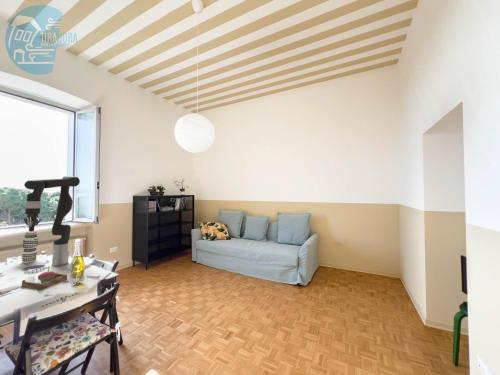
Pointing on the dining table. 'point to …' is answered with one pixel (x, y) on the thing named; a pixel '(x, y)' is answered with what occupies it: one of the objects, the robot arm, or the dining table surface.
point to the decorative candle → (30, 247)
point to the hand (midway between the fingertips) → (31, 231)
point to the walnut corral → (40, 286)
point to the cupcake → (46, 276)
